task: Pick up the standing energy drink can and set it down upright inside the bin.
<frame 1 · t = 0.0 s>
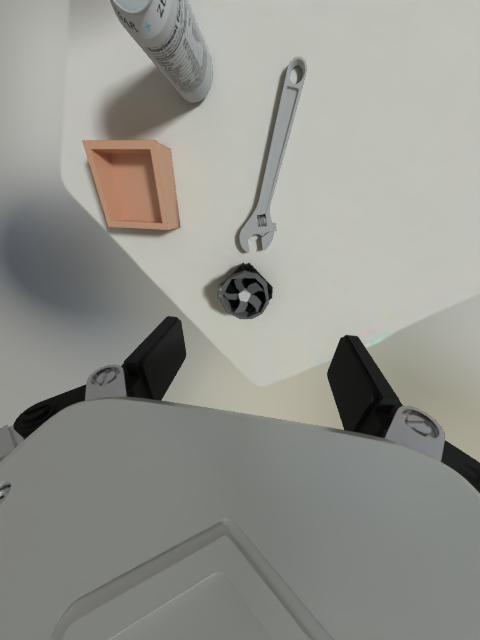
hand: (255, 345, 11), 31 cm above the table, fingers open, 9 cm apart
adjustable wrench: (274, 180, 32), on the table
bin: (146, 190, 36), on the table
cpu cooler: (246, 287, 43), on the table
energy drink can: (195, 76, 27), on the table
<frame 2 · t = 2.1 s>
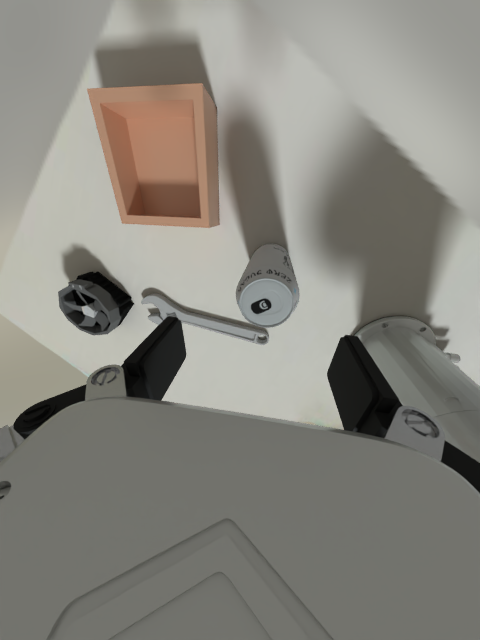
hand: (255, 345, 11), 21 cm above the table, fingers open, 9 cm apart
adjustable wrench: (205, 322, 38), on the table
bin: (175, 173, 25), on the table
cpu cooler: (108, 299, 39), on the table
energy drink can: (270, 262, 29), on the table
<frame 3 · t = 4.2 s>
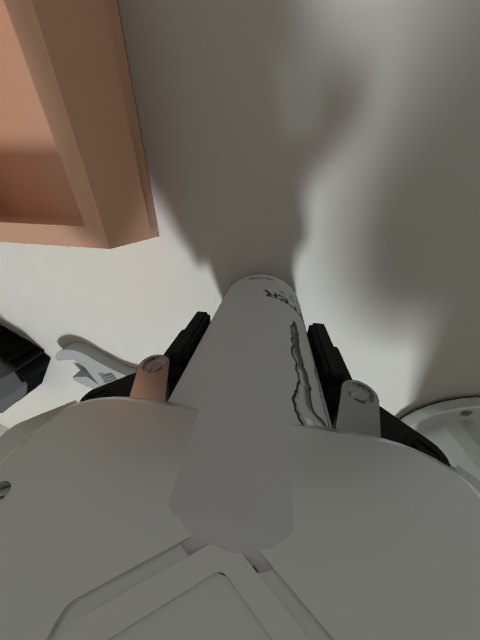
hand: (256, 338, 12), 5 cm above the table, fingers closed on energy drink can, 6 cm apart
adjustable wrench: (166, 382, 24), on the table
bin: (48, 125, 12), on the table
cpu cooler: (15, 350, 25), on the table
energy drink can: (260, 304, 16), on the table, touching gripper
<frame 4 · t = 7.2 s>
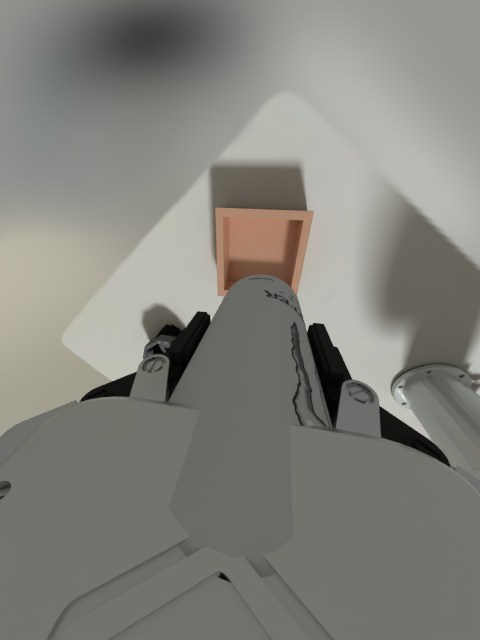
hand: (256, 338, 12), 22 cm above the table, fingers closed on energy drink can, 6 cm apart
bin: (261, 252, 30), on the table
cpu cooler: (177, 344, 44), on the table
energy drink can: (260, 305, 16), point 17 cm above the table, touching gripper
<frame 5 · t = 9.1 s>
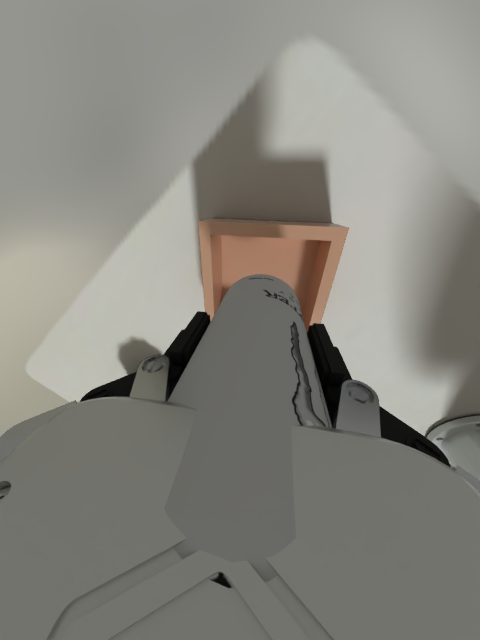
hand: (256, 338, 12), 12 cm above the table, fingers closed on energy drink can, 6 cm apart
bin: (265, 277, 22), on the table
energy drink can: (260, 304, 16), point 8 cm above the table, touching gripper
when the fingers open (7 cm above the table, at t = 10.6 s): energy drink can drops 1 cm, resting on bin.
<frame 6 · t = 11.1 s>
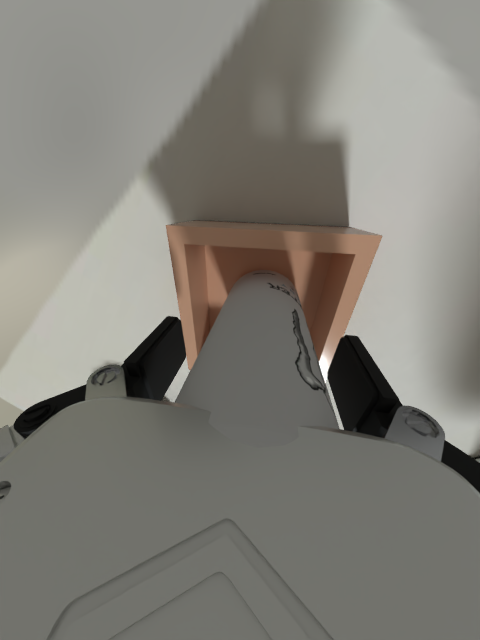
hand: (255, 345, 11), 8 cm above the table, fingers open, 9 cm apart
bin: (261, 294, 18), on the table
energy drink can: (263, 298, 17), point 1 cm above the table, touching bin
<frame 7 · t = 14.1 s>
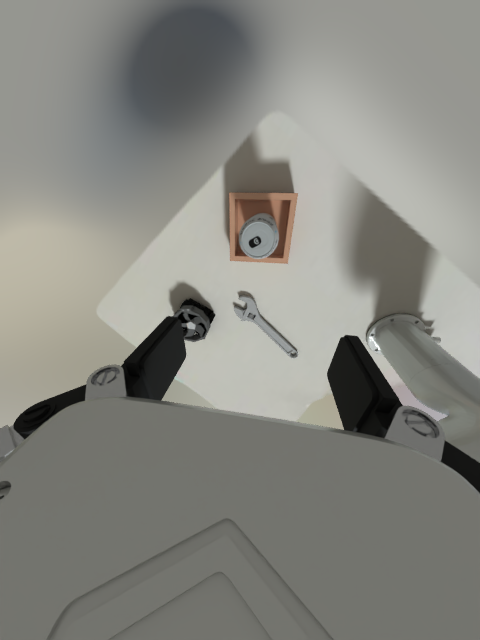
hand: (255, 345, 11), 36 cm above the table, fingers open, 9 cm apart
adjustable wrench: (266, 328, 54), on the table
bin: (261, 227, 40), on the table
cpu cooler: (196, 315, 55), on the table
energy drink can: (262, 228, 40), point 1 cm above the table, touching bin
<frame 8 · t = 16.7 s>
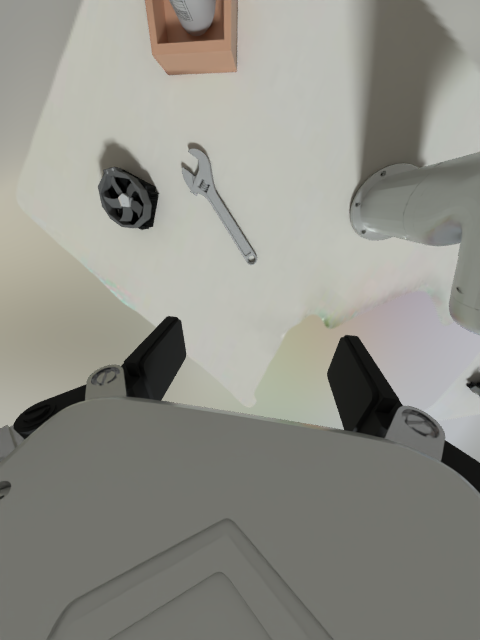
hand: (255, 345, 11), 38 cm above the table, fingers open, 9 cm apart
adjustable wrench: (222, 215, 43), on the table
bin: (198, 12, 29), on the table
cpu cooler: (138, 201, 44), on the table
energy drink can: (198, 9, 28), point 1 cm above the table, touching bin
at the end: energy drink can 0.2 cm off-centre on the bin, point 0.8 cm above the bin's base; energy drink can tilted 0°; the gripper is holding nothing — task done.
